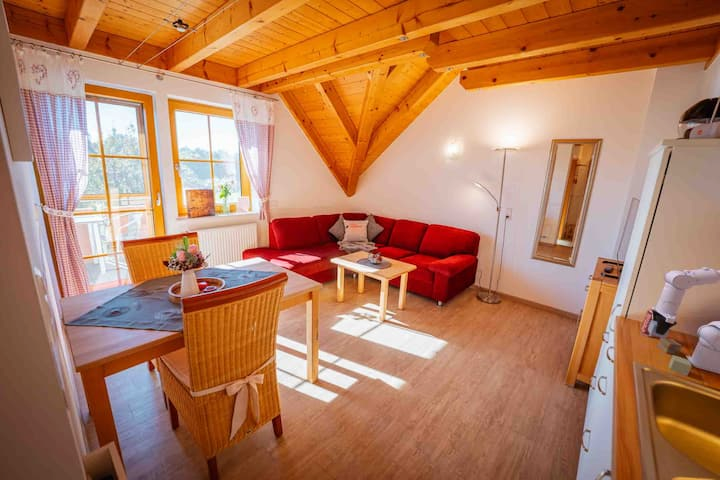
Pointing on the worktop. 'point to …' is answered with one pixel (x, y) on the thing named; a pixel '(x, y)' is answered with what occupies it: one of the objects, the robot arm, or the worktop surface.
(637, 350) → the worktop surface
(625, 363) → the worktop surface
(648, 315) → the soda can
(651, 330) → the slate blue block
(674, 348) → the walnut block
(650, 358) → the worktop surface
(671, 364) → the olive block
